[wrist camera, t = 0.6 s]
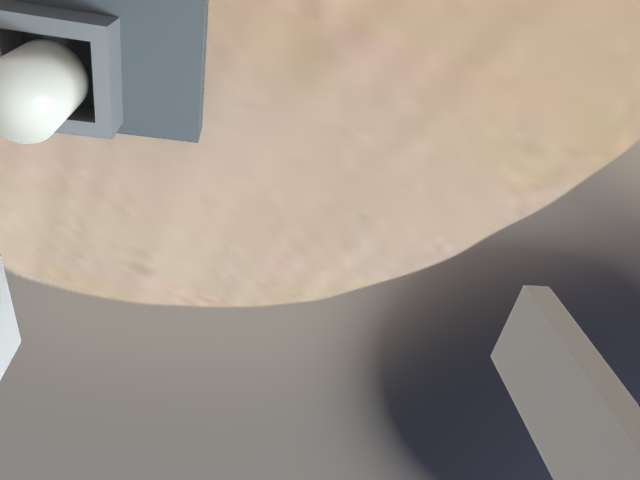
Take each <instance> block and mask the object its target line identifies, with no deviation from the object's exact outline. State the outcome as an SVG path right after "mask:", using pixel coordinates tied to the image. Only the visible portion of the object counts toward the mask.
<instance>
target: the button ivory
mask: <svg viewBox="0 0 640 480" xmlns="http://www.w3.org/2000/svg"><path fill="white" fill-rule="evenodd" d="M88 89H89V79H88V74H87V71H86V69H85V67H84V65H83V63H82V62H81V60H80V59H79V58H78V57H77V55H76V54H75V53H74V52H72V51H71V50H70V49H69V48H67V47H66V46H64V45H62V44H60V43H58V42H55V41H51V40H46V39H37V40H32V41H29V42H27V43H25V44H23V45H21V46H19V47H18V48H16V49H14V50H12V51H10V52H8V53H7V54H5V55H3V56H1V57H0V137H2V138H4V139H6V140H9V141H12V142H15V143H21V144H33V143H38V142H41V141H43V140H45V139H47V138H49V137H50V136H51V135H52V134H53V133H54V132H55V131H56V130H57V129H58V128H59V127H60V126H61V125H62V124H63V122H64V121H65V120H66V119H67V118H68V117H69V116H70V115H71V114H72V113H73V112H74V111H75V110H76V108H77V107H78V106H79V105H80V104H81V103H82V102H83V101H84V99H85V98H86V96H87V93H88Z"/></svg>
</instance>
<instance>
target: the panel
mask: <svg viewBox="0 0 640 480" xmlns="http://www.w3.org/2000/svg"><path fill="white" fill-rule="evenodd" d="M207 18H208V0H0V57H1V56H3V55H5V54H7V53H8V52H10V51H12V50H14V49H16V48H18V47H19V46H21V45H23V44H25V43H27V42H29V41H32V40H37V39H46V40H51V41H55V42H58V43H60V44H62V45H64V46H66V47H67V48H69V49H70V50H71V51H72V52H74V53H75V54H76V55H77V57H78V58H79V59H80V60H81V62H82V63H83V65H84V67H85V69H86V71H87V74H88V79H89V89H88V93H87V96H86V98H85V99H84V101H83V102H82V103H81V104H80V105H79V106H78V107H77V108H76V110H75V111H74V112H73V113H72V114H71V115H70V116H69V117H68V118H67V119H66V120H65V121H64V122H63V124H62V125H61V126H60V127H59V128H58V129H57V130H56V131H55V132H54V133H63V134H71V135H80V136H88V137H97V138H105V139H113V137H114V136H115V134H116V133H120V134H128V135H137V136H145V137H154V138H162V139H170V140H179V141H187V142H195V143H198V141H199V137H200V133H201V129H202V115H203V95H204V76H205V57H206V38H207Z"/></svg>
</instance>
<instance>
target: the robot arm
mask: <svg viewBox="0 0 640 480" xmlns="http://www.w3.org/2000/svg"><path fill="white" fill-rule="evenodd" d="M20 343H21V339H20V335H19V331H18V326H17V322H16V318H15V313H14V310H13V305H12V301H11V297H10V292H9V288H8V285H7V280H6V276H5V272H4V267H3V263H2V259H1V255H0V380H1V378H2V376H3V374H4V372H5V371H6V369H7V367H8V365H9V363H10V361H11V359H12V357H13V356H14V354H15V352H16V350H17V348H18V346H19V345H20ZM491 359H492V360H493V362H494V364H495V366H496V368H497V370H498V372H499V374H500V376H501V378H502V380H503V382H504V384H505V386H506V388H507V390H508V392H509V394H510V396H511V398H512V400H513V402H514V404H515V406H516V408H517V409H518V411H519V413H520V415H521V417H522V419H523V421H524V423H525V425H526V427H527V429H528V431H529V433H530V435H531V437H532V439H533V441H534V443H535V445H536V447H537V449H538V451H539V453H540V455H541V456H542V459H543V460H544V462H545V464H546V466H547V468H548V470H549V472H550V474H551V476H552V478H553V480H640V405H638V404H637V402H636V401H635V400H634V399H633V397H632V396H631V395H630V393H629V392H628V391H627V389H626V388H625V387H624V385H623V384H622V383H621V381H620V380H619V379H618V377H617V376H616V375H615V373H614V372H613V371H612V369H611V368H610V367H609V365H608V364H607V363H606V361H605V360H604V359H603V357H602V356H601V355H600V354H599V352H598V351H597V350H596V348H595V347H594V345H593V344H592V343H591V342H590V340H589V339H588V338H587V336H586V335H585V334H584V332H583V331H582V330H581V328H580V327H579V326H578V325H577V323H576V322H575V320H574V319H573V318H572V316H571V315H570V314H569V312H568V311H567V310H566V308H565V307H564V306H563V304H562V303H561V302H560V300H559V299H558V298H557V296H556V295H555V294H554V292H553V291H552V290H551V288H550V287H546V286H529V285H524V286H523V288H522V290H521V292H520V294H519V296H518V299H517V301H516V303H515V305H514V307H513V309H512V311H511V313H510V316H509V318H508V320H507V322H506V324H505V326H504V328H503V330H502V333H501V335H500V337H499V339H498V341H497V344H496V345H495V348H494V350H493V352H492V354H491Z"/></svg>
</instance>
